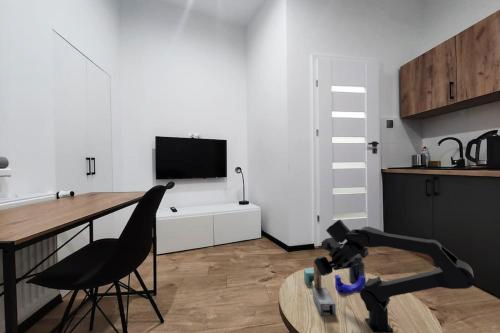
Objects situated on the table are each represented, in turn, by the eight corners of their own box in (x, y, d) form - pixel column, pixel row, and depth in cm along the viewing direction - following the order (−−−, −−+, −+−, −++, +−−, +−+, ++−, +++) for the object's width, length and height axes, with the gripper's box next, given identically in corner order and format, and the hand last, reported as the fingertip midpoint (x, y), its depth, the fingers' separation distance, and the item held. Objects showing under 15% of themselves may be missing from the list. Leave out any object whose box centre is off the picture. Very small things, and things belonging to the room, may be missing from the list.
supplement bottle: (346, 279, 116) (345, 254, 116) (357, 277, 118) (356, 252, 118) (357, 286, 109) (356, 259, 109) (368, 283, 112) (367, 257, 112)
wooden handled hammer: (330, 310, 90) (329, 274, 90) (322, 310, 90) (321, 274, 90) (318, 286, 108) (317, 256, 108) (311, 286, 108) (310, 256, 108)
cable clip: (338, 293, 104) (338, 279, 104) (335, 288, 108) (335, 274, 108) (367, 293, 103) (366, 279, 103) (363, 288, 107) (362, 274, 108)
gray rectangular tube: (335, 315, 88) (335, 303, 88) (320, 315, 88) (320, 304, 88) (326, 297, 100) (325, 287, 100) (313, 298, 100) (312, 287, 100)
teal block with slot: (319, 283, 112) (319, 273, 112) (306, 284, 112) (306, 273, 112) (316, 279, 117) (316, 268, 117) (304, 279, 117) (303, 268, 117)
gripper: (351, 229, 98) (330, 249, 108) (317, 236, 89) (298, 257, 99) (369, 254, 91) (346, 273, 101) (334, 265, 82) (312, 285, 92)
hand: (325, 271), depth 98 cm, fingers open, 9 cm apart
